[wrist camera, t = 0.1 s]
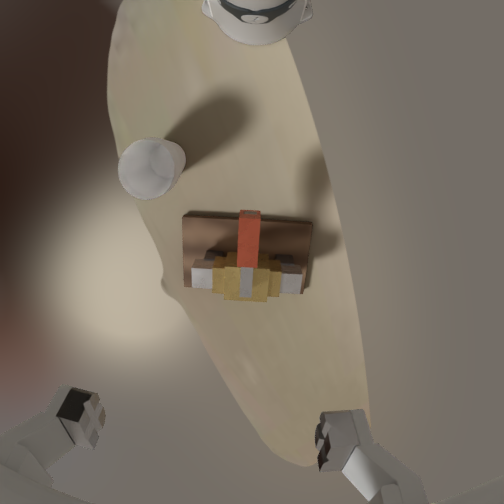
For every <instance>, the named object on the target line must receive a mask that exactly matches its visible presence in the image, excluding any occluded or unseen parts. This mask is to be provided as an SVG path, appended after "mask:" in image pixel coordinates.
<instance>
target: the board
mask: <svg viewBox="0 0 504 504" xmlns="http://www.w3.org/2000/svg"><path fill="white" fill-rule="evenodd" d="M312 226H313V225H312V223H311V222H301V221H287V220H272V219H261V221H260V235H259V250H258V253H260V254H269V259H270V260H275V259H276V254H282V255H292V256H293V260H294V265H300V267H301V270H302V274H303V276H302V283H301V290H300V294H303V291H304V284H305V277H306V271H307V263H308V256H309V249H310V241H311V234H312ZM238 229H239V218H238V217H220V216H199V215H184V216H183V217H182V233H183V268H184V287H192V271H191V268H192V265H193V263H194V261H195V259H204V257H205V254H206V251H207V250H215V251H223V257H227V253H228V252H237V251H238ZM193 288H194V287H193ZM207 289H208V288H207ZM293 294H294V293H293Z"/></svg>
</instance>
